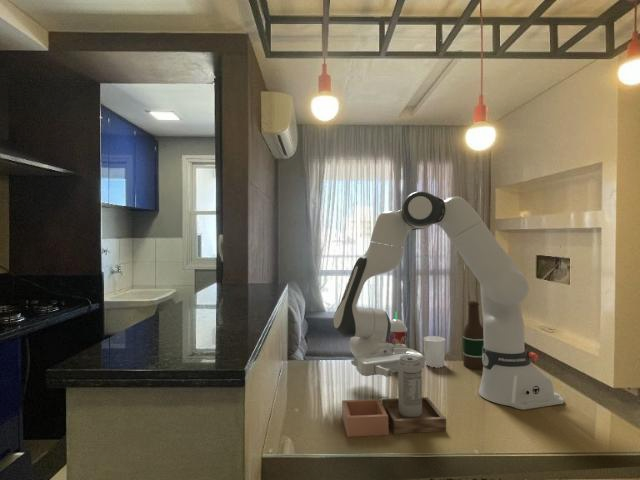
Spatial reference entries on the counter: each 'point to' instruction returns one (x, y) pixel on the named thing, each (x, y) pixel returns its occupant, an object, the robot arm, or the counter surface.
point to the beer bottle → (473, 339)
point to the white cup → (434, 351)
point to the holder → (364, 417)
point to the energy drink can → (409, 387)
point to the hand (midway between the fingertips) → (404, 371)
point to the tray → (426, 423)
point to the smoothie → (397, 332)
